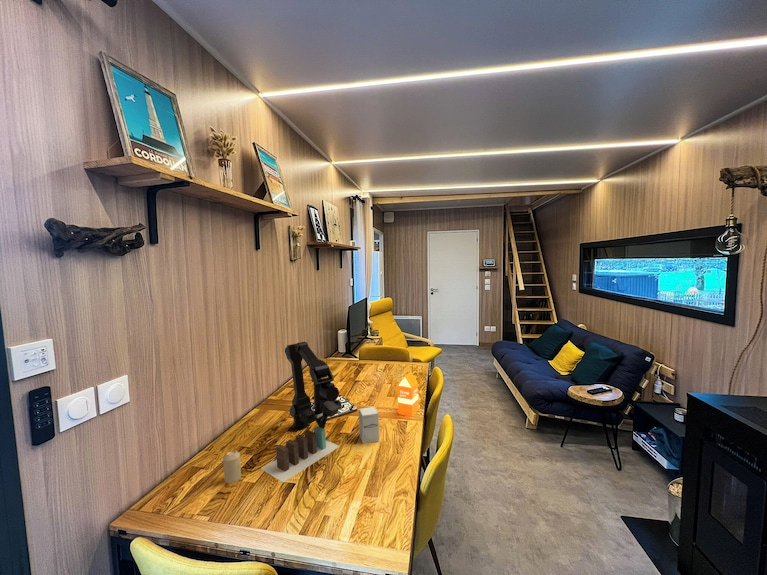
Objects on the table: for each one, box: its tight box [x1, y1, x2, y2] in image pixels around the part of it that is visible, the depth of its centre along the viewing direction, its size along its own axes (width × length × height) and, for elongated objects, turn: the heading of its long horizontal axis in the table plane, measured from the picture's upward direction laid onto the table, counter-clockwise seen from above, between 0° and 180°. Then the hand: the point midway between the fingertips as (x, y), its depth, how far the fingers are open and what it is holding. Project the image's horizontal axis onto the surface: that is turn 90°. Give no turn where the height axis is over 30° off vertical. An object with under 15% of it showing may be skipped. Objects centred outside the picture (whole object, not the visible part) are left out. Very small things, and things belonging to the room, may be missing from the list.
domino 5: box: [313, 425, 327, 450], centre depth 135 cm, size 2×5×8 cm, turn 53°
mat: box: [260, 439, 341, 483], centre depth 128 cm, size 14×28×1 cm, turn 143°
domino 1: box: [275, 444, 289, 472], centre depth 121 cm, size 2×5×8 cm, turn 53°
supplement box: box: [358, 406, 380, 444], centre depth 141 cm, size 7×7×13 cm
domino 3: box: [295, 434, 308, 460], centre depth 128 cm, size 2×5×8 cm, turn 53°
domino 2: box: [285, 439, 299, 465], centre depth 125 cm, size 2×5×8 cm, turn 53°
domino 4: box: [304, 429, 317, 454], centre depth 132 cm, size 2×5×8 cm, turn 53°
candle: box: [222, 449, 242, 485], centre depth 116 cm, size 6×6×10 cm
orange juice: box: [397, 371, 420, 417], centre depth 166 cm, size 8×9×20 cm
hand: (322, 430), depth 137 cm, fingers closed
